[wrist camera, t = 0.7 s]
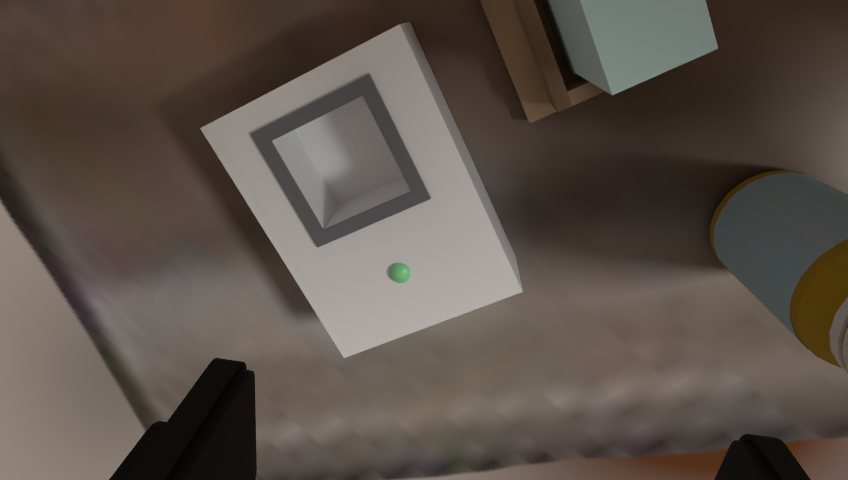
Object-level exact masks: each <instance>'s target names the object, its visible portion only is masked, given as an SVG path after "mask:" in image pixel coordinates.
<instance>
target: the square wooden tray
mask: <svg viewBox="0 0 848 480" xmlns="http://www.w3.org/2000/svg"><path fill="white" fill-rule="evenodd" d="M480 2H481V5H482V7H483V10H484V12H485V15H486V17H487V20H488V22H489V25H490V27H491V30H492V32H493V35H494V37H495V40H496V42H497V45H498V47H499V50H500V52H501V55H502V57H503V60H504V62H505V65H506V67H507V70H508V72H509V75H510V77H511V79H512V82H513V84H514V87H515V89H516V92H517V94H518V97H519V99H520V102H521V104H522V107H523V109H524V112H525V114H526V117H527V119H528V121H529V123H533V122H535V121H537V120H539V119H541V118H544V117H546V116H548V115H550V114H553V113H555V112H561V111H563V110H565V109H567V108H570V107H572V106H574V105H576V104H579V103H581V102H583V101H585V100H588V99H590V98H592V97H594V96H597V95H599V94H601V93H603V92H606V91H604V90H602V89H601V88H599V87H597V86H596V85H594V84H593V83H591V82H589V81H588V80H586V79H584V78H583V77H581V76H579V75H578V74H573V73H572V72H570V71H568V70H567V68H566V66H565V63H564V60H563V57H562V55H561V52H560V49H559V46H558V44H557V41H556V38H555V35H554V33H553V30H552V27H551V24H550V22H549V19H548V16H547V13H546V11H545V8H544V5H543V2H542V0H480Z"/></svg>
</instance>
